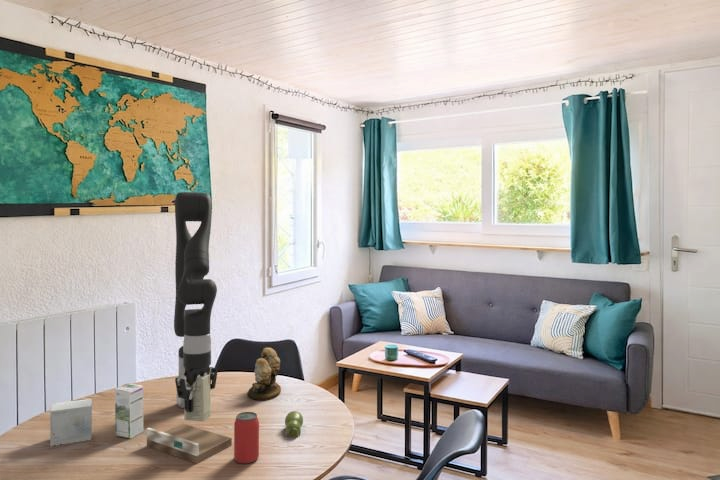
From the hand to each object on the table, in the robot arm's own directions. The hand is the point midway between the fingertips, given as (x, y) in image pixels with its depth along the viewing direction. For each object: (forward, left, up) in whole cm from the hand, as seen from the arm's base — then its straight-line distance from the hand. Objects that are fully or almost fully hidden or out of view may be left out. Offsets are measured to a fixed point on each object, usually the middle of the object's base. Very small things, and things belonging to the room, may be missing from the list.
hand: (197, 408), depth 147 cm
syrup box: (-23, -5, -11) cm, 26 cm away
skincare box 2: (0, 0, -3) cm, 3 cm away
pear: (+17, +23, -11) cm, 31 cm away
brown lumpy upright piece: (-13, +45, -11) cm, 48 cm away
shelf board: (-2, -1, -11) cm, 11 cm away
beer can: (+17, +1, -11) cm, 21 cm away
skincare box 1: (-34, -16, -11) cm, 39 cm away
